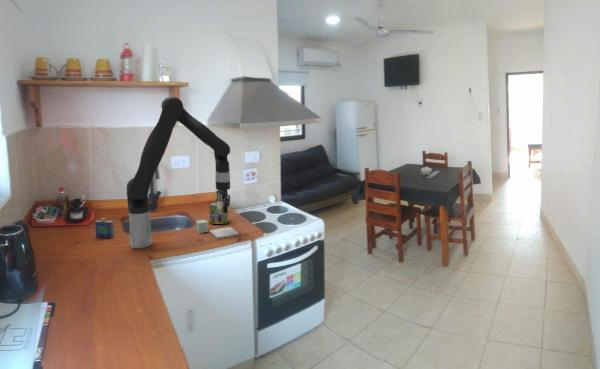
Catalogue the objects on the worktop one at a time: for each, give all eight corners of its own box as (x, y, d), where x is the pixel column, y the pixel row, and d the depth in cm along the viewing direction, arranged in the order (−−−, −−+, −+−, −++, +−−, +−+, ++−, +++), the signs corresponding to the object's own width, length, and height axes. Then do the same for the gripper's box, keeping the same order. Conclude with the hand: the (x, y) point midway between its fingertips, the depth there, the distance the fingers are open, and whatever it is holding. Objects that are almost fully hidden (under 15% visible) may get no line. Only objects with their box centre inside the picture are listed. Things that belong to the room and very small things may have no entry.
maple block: (220, 214, 192) (220, 203, 191) (217, 212, 196) (217, 201, 195) (229, 213, 195) (229, 202, 193) (226, 211, 199) (226, 200, 198)
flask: (115, 237, 189) (113, 217, 187) (112, 239, 186) (110, 219, 184) (98, 236, 189) (96, 216, 187) (94, 238, 187) (92, 218, 184)
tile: (217, 239, 190) (217, 237, 189) (209, 232, 199) (209, 230, 199) (238, 235, 196) (238, 233, 196) (230, 229, 206) (230, 227, 206)
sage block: (199, 234, 197) (198, 223, 196) (196, 231, 201) (195, 220, 200) (208, 232, 200) (207, 222, 198) (205, 229, 204) (204, 219, 202)
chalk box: (225, 225, 212) (224, 200, 209) (209, 224, 212) (208, 200, 209) (228, 220, 221) (228, 196, 218) (213, 220, 221) (213, 196, 218)
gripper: (211, 178, 195) (212, 209, 199) (220, 183, 184) (221, 215, 187) (224, 177, 200) (225, 207, 203) (234, 182, 188) (235, 213, 191)
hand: (223, 211), depth 195 cm, fingers closed on maple block, 5 cm apart
